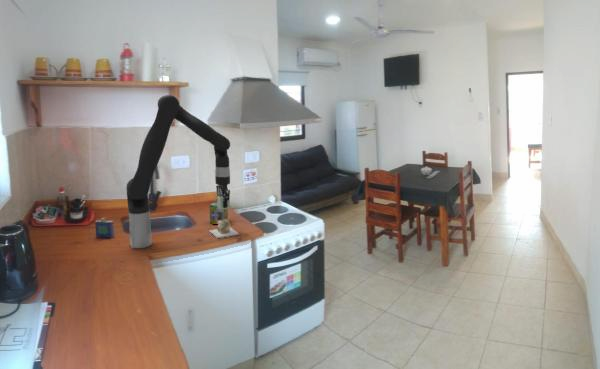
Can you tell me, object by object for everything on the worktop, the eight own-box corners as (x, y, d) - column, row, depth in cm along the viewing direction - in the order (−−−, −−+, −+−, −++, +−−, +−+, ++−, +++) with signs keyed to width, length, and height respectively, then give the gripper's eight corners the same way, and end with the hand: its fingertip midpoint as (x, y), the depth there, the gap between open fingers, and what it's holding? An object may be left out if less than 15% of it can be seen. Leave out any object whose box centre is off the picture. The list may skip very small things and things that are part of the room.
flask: (115, 237, 189) (113, 217, 187) (112, 239, 186) (110, 219, 184) (98, 236, 189) (96, 216, 187) (94, 238, 187) (92, 218, 184)
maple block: (221, 233, 194) (220, 223, 193) (217, 231, 198) (217, 220, 197) (229, 232, 197) (229, 221, 196) (226, 229, 201) (226, 219, 200)
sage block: (220, 209, 191) (220, 198, 190) (217, 207, 196) (217, 196, 194) (229, 208, 194) (229, 197, 193) (226, 206, 198) (225, 195, 197)
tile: (217, 239, 190) (217, 237, 189) (209, 232, 199) (209, 230, 199) (238, 235, 196) (238, 233, 196) (230, 229, 206) (230, 227, 206)
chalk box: (225, 225, 212) (224, 200, 209) (209, 224, 212) (209, 200, 209) (228, 220, 221) (228, 196, 218) (213, 220, 221) (213, 196, 218)
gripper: (211, 173, 195) (211, 204, 198) (220, 178, 183) (221, 210, 187) (224, 172, 199) (225, 202, 202) (234, 176, 187) (235, 208, 191)
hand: (223, 206), depth 195 cm, fingers closed on sage block, 5 cm apart
